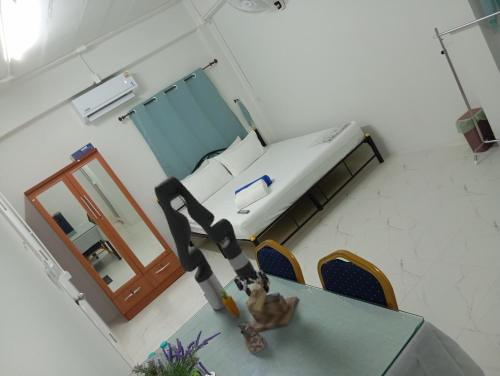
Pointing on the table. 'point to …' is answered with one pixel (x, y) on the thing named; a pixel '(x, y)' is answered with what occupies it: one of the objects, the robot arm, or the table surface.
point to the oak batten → (257, 298)
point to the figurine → (251, 338)
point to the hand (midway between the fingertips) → (259, 293)
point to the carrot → (229, 304)
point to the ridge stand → (274, 312)
